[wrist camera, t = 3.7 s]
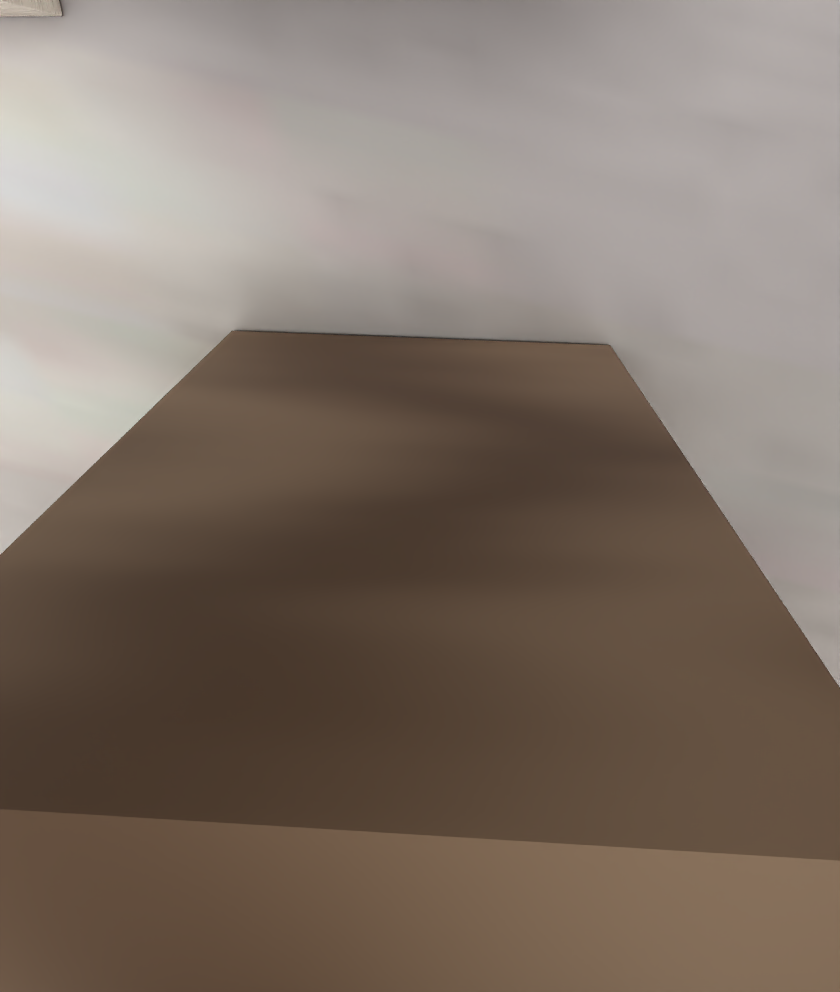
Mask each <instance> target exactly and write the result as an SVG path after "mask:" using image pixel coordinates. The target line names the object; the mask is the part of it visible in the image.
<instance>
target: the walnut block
mask: <svg viewBox="0 0 840 992" xmlns="http://www.w3.org/2000/svg"><path fill="white" fill-rule="evenodd" d="M0 992H840V688H839V686H838V685H837V683H836V682H835V680H834V679H833V677H832V676H831V674H830V673H829V671H828V670H827V668H826V667H825V665H824V664H823V662H822V661H821V659H820V658H819V656H818V655H817V653H816V652H815V650H814V649H813V647H812V646H811V644H810V643H809V641H808V640H807V638H806V637H805V635H804V634H803V632H802V631H801V629H800V628H799V626H798V625H797V623H796V622H795V620H794V619H793V617H792V616H791V614H790V613H789V611H788V610H787V608H786V607H785V606H784V604H783V603H782V601H781V600H780V598H779V597H778V595H777V594H776V592H775V591H774V589H773V588H772V586H771V585H770V583H769V582H768V580H767V579H766V577H765V576H764V574H763V573H762V571H761V570H760V568H759V567H758V565H757V564H756V562H755V561H754V559H753V558H752V556H751V555H750V553H749V552H748V550H747V549H746V547H745V546H744V544H743V543H742V541H741V540H740V538H739V537H738V535H737V534H736V532H735V531H734V529H733V528H732V526H731V525H730V523H729V522H728V520H727V519H726V517H725V516H724V514H723V513H722V511H721V510H720V508H719V507H718V505H717V504H716V503H715V501H714V500H713V498H712V497H711V495H710V494H709V492H708V491H707V489H706V488H705V486H704V485H703V483H702V482H701V480H700V479H699V477H698V476H697V474H696V473H695V471H694V470H693V468H692V467H691V465H690V464H689V462H688V461H687V459H686V458H685V456H684V455H683V453H682V452H681V450H680V449H679V447H678V446H677V444H676V443H675V441H674V440H673V438H672V437H671V435H670V434H669V432H668V431H667V429H666V428H665V426H664V425H663V423H662V422H661V420H660V419H659V417H658V416H657V414H656V413H655V411H654V410H653V408H652V407H651V405H650V404H649V403H648V401H647V400H646V398H645V397H644V395H643V394H642V392H641V391H640V389H639V388H638V386H637V385H636V383H635V382H634V380H633V379H632V377H631V376H630V374H629V373H628V371H627V370H626V368H625V367H624V365H623V364H622V362H621V361H620V359H619V358H618V356H617V355H616V353H615V352H614V350H613V349H612V347H611V346H610V345H589V344H563V343H537V342H511V341H485V340H459V339H433V338H407V337H380V336H354V335H328V334H302V333H276V332H250V331H231V332H230V333H229V334H228V335H227V336H226V337H225V338H224V339H223V340H222V341H221V342H220V343H219V344H218V345H217V346H216V347H215V348H214V349H213V350H212V351H211V352H210V353H209V354H208V355H207V356H206V357H204V358H203V359H202V360H201V361H200V362H199V363H198V364H197V365H196V366H195V367H194V368H193V369H192V370H191V371H190V372H189V373H188V374H187V375H186V376H185V377H184V378H183V379H182V380H181V381H180V382H179V383H178V384H177V385H176V386H174V387H173V388H172V389H171V390H170V391H169V392H168V393H167V394H166V395H165V396H164V397H163V398H162V399H161V400H160V401H159V402H158V403H157V404H156V405H155V406H154V407H153V408H152V409H151V410H150V411H149V412H148V413H147V414H146V415H144V416H143V417H142V418H141V419H140V420H139V421H138V422H137V423H136V424H135V425H134V426H133V427H132V428H131V429H130V430H129V431H128V432H127V433H126V434H125V435H124V436H123V437H122V438H121V439H120V440H119V441H118V442H117V443H116V444H114V445H113V446H112V447H111V448H110V449H109V450H108V451H107V452H106V453H105V454H104V455H103V456H102V457H101V458H100V459H99V460H98V461H97V462H96V463H95V464H94V465H93V466H92V467H91V468H90V469H89V470H88V471H87V472H86V473H84V474H83V475H82V476H81V477H80V478H79V479H78V480H77V481H76V482H75V483H74V484H73V485H72V486H71V487H70V488H69V489H68V490H67V491H66V492H65V493H64V494H63V495H62V496H61V497H60V498H59V499H58V500H57V501H56V502H54V503H53V504H52V505H51V506H50V507H49V508H48V509H47V510H46V511H45V512H44V513H43V514H42V515H41V516H40V517H39V518H38V519H37V520H36V521H35V522H34V523H33V524H32V525H31V526H30V527H29V528H28V529H27V530H26V531H24V532H23V533H22V534H21V535H20V536H19V537H18V538H17V539H16V540H15V541H14V542H13V543H12V544H11V545H10V546H9V547H8V548H7V549H6V550H5V551H4V552H3V553H2V554H1V555H0Z"/></svg>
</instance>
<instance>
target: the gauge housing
mask: <svg viewBox="0 0 840 992" xmlns="http://www.w3.org/2000/svg"><path fill="white" fill-rule="evenodd" d="M8 16H63V15H62V11H61V7H60V3H59V0H0V17H8Z"/></svg>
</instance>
